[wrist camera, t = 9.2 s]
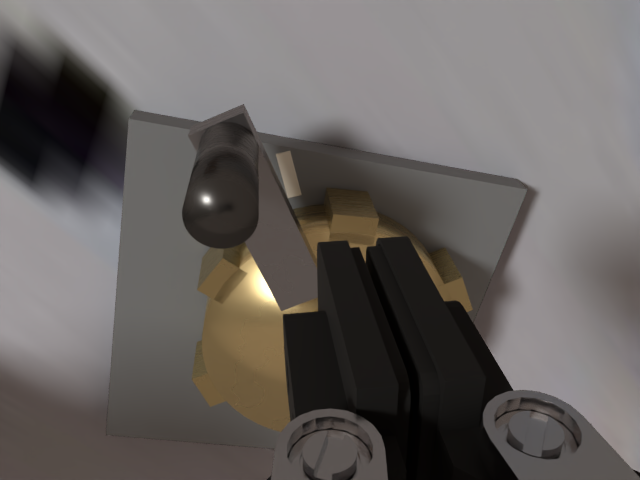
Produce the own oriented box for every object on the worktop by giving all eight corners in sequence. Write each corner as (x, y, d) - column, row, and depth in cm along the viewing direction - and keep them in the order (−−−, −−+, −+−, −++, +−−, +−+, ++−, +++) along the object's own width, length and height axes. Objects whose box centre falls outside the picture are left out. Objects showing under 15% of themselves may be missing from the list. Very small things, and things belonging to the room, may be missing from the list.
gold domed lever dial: (480, 352, 30) (554, 498, 22) (255, 433, 31) (255, 597, 24) (372, 30, 22) (432, 89, 15) (77, 156, 23) (-9, 270, 16)
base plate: (110, 417, 32) (105, 436, 30) (134, 109, 24) (128, 119, 23) (411, 444, 35) (417, 462, 34) (517, 179, 27) (528, 190, 26)
